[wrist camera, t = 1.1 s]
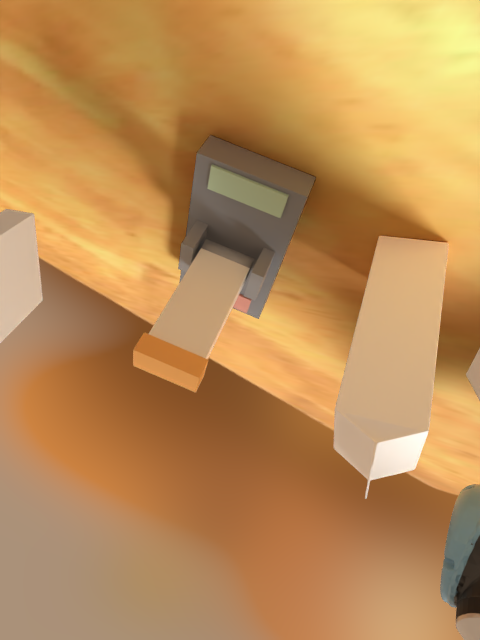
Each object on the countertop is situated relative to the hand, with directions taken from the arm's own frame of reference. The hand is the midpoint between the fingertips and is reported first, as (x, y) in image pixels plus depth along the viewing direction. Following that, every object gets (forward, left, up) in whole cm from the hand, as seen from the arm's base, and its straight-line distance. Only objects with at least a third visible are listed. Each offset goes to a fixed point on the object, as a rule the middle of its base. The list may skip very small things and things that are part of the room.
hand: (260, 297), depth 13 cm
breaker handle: (-11, +20, -23) cm, 32 cm away
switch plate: (-11, +20, -26) cm, 35 cm away
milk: (-20, +6, -26) cm, 34 cm away
